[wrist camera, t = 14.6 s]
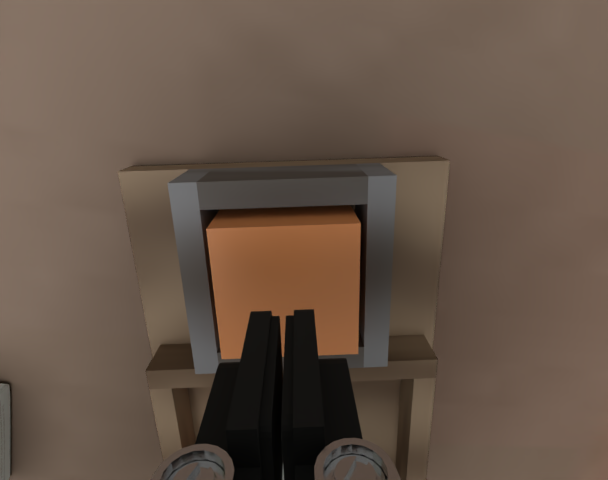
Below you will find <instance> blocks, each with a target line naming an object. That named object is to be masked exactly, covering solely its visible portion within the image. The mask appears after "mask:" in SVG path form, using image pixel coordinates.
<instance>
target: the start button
mask: <svg viewBox="0 0 608 480" xmlns="http://www.w3.org/2000/svg"><path fill="white" fill-rule="evenodd" d="M206 231H207V240H208V248H209V257H210V265H211V274H212V282H213V291H214V299H215V307H216V316H217V324H218V333H219V341H220V350H221V358H222V359H241V354H242V350H243V345H244V340H245V336H246V331H247V326H248V321H249V317H250V313H251V311H272V316H280V328H281V346H282V357H284V346H285V323H286V316H288V315H294V310H304V309H314V315H315V326H316V337H317V348H318V356H319V355H345V354H358V341H359V288H360V236H361V223H360V221H359V219H358V218H357V216H356V214H355V212H354V210H353V208H352V207H351V205H341V206H312V207H283V208H254V209H225V210H219V211H218V213H217V214H216V216H215V217H214V218H213V220H212V221H211V223H210V224H209V226H208V227H207V228H206Z"/></svg>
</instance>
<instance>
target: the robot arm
mask: <svg viewBox="0 0 608 480" xmlns="http://www.w3.org/2000/svg"><path fill="white" fill-rule="evenodd" d="M283 470H284V480H401V478H400V476H399V474H398V472H397V469H396V467H395V465H394V463H393V461H392V460H391V458H390V457H389V455H388V454H387V453H386V452H385V451H384V450H383V449H381V448H380V447H379V446H378V445H376V444H374V443H372V442H370V441H368V440H363V438H362V433H361V428H360V423H359V418H358V413H357V408H356V403H355V398H354V393H353V388H352V383H351V378H350V373H349V368H348V363H347V359H346V358H330V359H318V348H317V337H316V326H315V315H314V309H304V310H294V315H288V316H286V323H285V346H284V369H283V363H282V346H281V328H280V316H272V311H251V313H250V317H249V321H248V326H247V331H246V336H245V340H244V345H243V350H242V354H241V359H240V362H225V363H220V364H219V365H218V367H217V371H216V374H215V377H214V381H213V384H212V388H211V391H210V395H209V398H208V401H207V405H206V408H205V412H204V415H203V418H202V422H201V425H200V429H199V432H198V436H197V439H196V442H195V445H191V446H188V447H184V448H182V449H180V450H178V451H177V452H175V453H173V454H171V455H170V456H169V457H168V458H167V459H166V460H164V461H163V462H162V463H161V464H160V466H159V467H158V468H157V470H156V471H155V473H154V474H153V476H152V478H151V480H282V475H283Z"/></svg>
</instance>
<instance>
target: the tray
mask: <svg viewBox="0 0 608 480" xmlns="http://www.w3.org/2000/svg"><path fill="white" fill-rule="evenodd" d="M449 167H450V160H447V159H444V158H442V157H439V156H425V157H395V158H365V159H335V160H305V161H274V162H244V163H214V164H184V165H154V166H131V167H128V168H126V169H123V170H121V171H118V177H119V182H120V187H121V193H122V198H123V203H124V209H125V214H126V219H127V225H128V230H129V235H130V241H131V246H132V252H133V257H134V262H135V268H136V273H137V278H138V284H139V289H140V294H141V300H142V305H143V310H144V316H145V321H146V326H147V332H148V337H149V342H150V348H151V353H152V358H153V359H152V360H151V362H150V364H149V366H148V368H147V369H146V376H147V381H148V386H149V391H150V396H151V401H152V406H153V411H154V416H155V421H156V426H157V432H158V437H159V442H160V447H161V452H162V457H163V461H164V460H166V459H167V458H168V457H169V456H170V455H171V454H173V453H175V452H177V451H178V450H180V449H182V448H184V447H188V446H191V445H195V442H196V439H197V436H198V432H199V429H200V425H201V422H202V418H203V415H204V412H205V408H206V405H207V401H208V398H209V395H210V391H211V388H212V384H213V381H214V377H215V374H216V371H217V367H218V365H219V364H220V363H225V362H240V359H222V358H221V350H220V341H219V333H218V324H217V316H216V307H215V299H214V291H213V282H212V274H211V265H210V257H209V248H208V240H207V231H206V228H207V227H208V226H209V224H210V223H211V221H212V220H213V218H214V217H215V216H216V214H217V213H218V211H219V210H225V209H254V208H283V207H312V206H341V205H351V207H352V208H353V210H354V212H355V214H356V216H357V218H358V219H359V221H360V223H361V236H360V288H359V341H358V354H345V355H319V356H318V359H330V358H346V359H347V363H348V368H349V373H350V378H351V383H352V388H353V393H354V398H355V403H356V408H357V413H358V418H359V423H360V428H361V433H362V438H363V440H368V441H370V442H372V443H374V444H376V445H378V446H379V447H380V448H381V449H383V450H384V451H385V452H386V453H387V454H388V455H389V457H390V458H391V460H392V461H393V463H394V465H395V467H396V469H397V472H398V474H399V476H400V478H401V480H426V474H427V464H428V454H429V444H430V434H431V423H432V413H433V403H434V393H435V383H436V373H437V363H438V359H437V357H436V355H435V354H434V352H433V339H434V328H435V318H436V307H437V296H438V285H439V274H440V264H441V253H442V242H443V231H444V221H445V210H446V199H447V188H448V177H449ZM282 363H283V369H284V357H282Z"/></svg>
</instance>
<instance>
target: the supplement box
mask: <svg viewBox="0 0 608 480" xmlns="http://www.w3.org/2000/svg"><path fill="white" fill-rule="evenodd" d="M9 478H10V387H9V385H8V384H2V383H0V480H8V479H9Z"/></svg>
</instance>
